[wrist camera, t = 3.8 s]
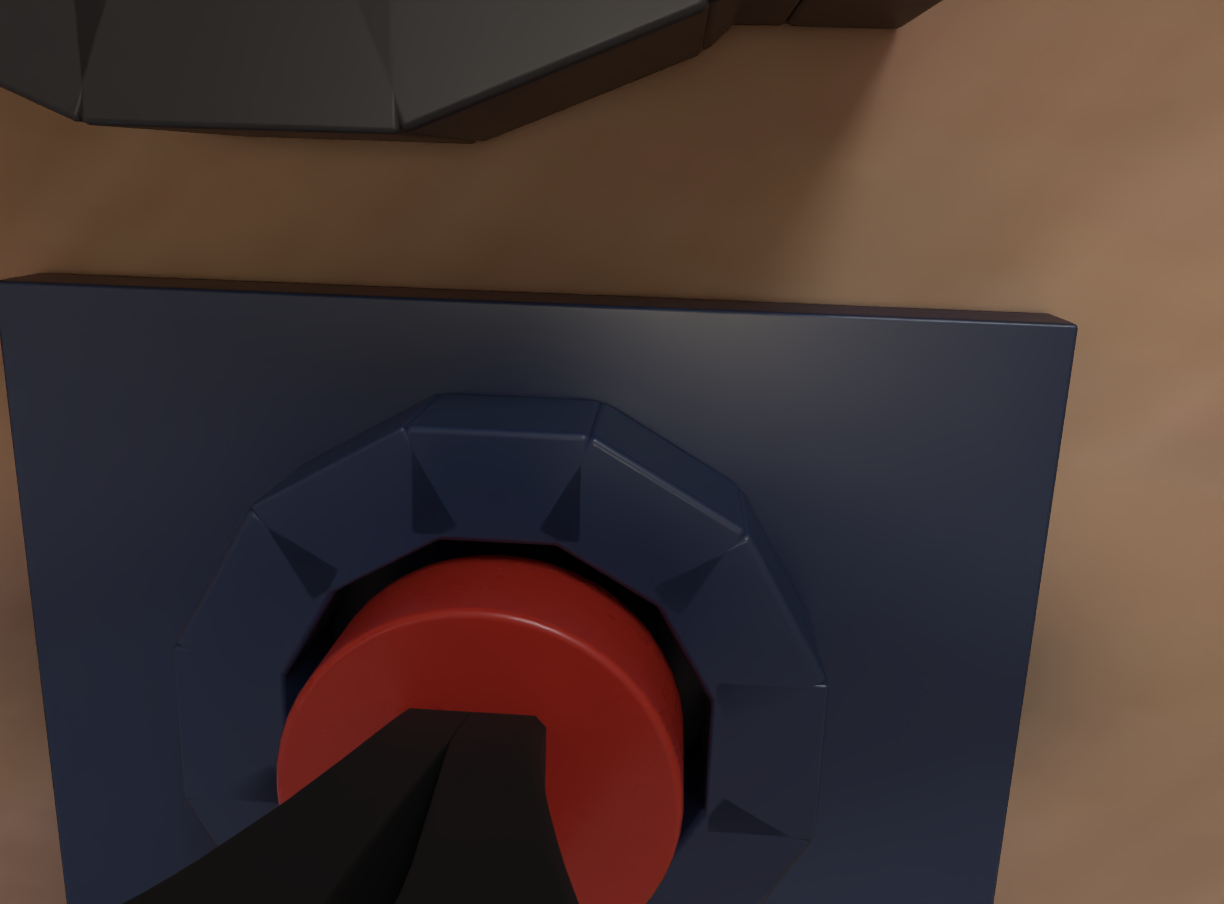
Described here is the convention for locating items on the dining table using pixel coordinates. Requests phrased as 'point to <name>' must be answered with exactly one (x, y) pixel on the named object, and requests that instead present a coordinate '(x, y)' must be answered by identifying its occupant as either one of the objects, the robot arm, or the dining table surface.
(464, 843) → the robot arm
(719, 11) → the cup holder
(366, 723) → the release button
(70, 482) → the control block
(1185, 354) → the dining table surface
